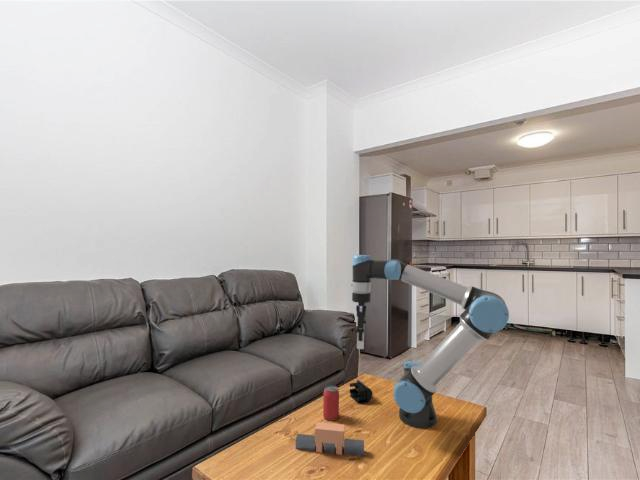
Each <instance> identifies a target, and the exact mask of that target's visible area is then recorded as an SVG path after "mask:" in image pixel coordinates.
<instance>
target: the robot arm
mask: <svg viewBox="0 0 640 480" xmlns="http://www.w3.org/2000/svg"><path fill="white" fill-rule="evenodd" d="M351 267H352V283H350V286H351V287H352V289H351V290H352V293H351V295H352V296H351V301H352V302H354V303H358V304H357V305H356V307H355V309H356V317H357V325H356V327H357V329H355V331H354V332H355V333H356V349H357V350H364V349H365V324H366V323H367V321H366V320H365V317H366V312H367V306H366V305H365V303H367V304H368V303H370V302H371V292H372V291H371V290H372V289H371V288H372V287H371V286H372V282H371V279H373V280H374V279H377V280H378V279H379V280H387V281H388V280H389V281H394V280H397V281H401V282H403V283H407V284H408V285H411V286H414V287H416V288H419V289H421V290H422V291H426V292H428V293H431V294H433V295H435V296H438V297H441V298H443V299H445V300H447V301H450V302H453V303H454V304H457V305H460V306H461V308H462V310H464V311H463V312H462V313H461V314H460V315H459V323H458V324H456V326H455V327H454V328H453V329H452V330H451V331H450V333H448V335H447V336H446V337H445V338H444V339H443V340H442V341H440V343H439V344H438V345H437V346H436V347H435V348H434V349H433V350H432V351H431V352H430V353H429V355H427V357H425V359H424V360H423V361H422V362H421V361H413V360H409V361H405V362H404V363H403V368H402V369H403V373H402V375H401V376H400V378H399V380H398V381H397V383H396V384H395V385H394V388H393V392H392V393H393V398H394V401H395V403H396V405H397V407H399V410H398V417H399V420H400V421H401V422H402V423H404V424H406V425H408V426H410V427H414V428H419V429H429V427H430V428H433V427H435V426H436V424H437V421H438V420H437V419H438V418H437V413H436V409H435V406H434V403H433V396H434V394H436V392H438V391H437V390H438V386H437V385H438V384H439V383H440V382H441V381H442V380H443V378H445V377H446V375H448V374H449V372H451V371H452V370H453V368H454V367H455V366H457V365H458V363H460V361H461V360H463V358H465V356H467V354H468V353H469V352H470V351H471V350H472V349H473V348H475V347H476V346H477V344H478V343H479V342H481V340H483V341H487V340H488V341H489V340H490V338H491V337H492V336H493V335H494V334H495V333H497V332H500V331H502V330H503V329H504V328H505V327H506V326H507V324H508V321H509V318H510V313H509V309H508V306H507V304H506V301H505V300H504V299H503V298H502V296H500V295H499V294H497V293H495V292H491V291H489V290H485V289H481V288H479V287H475V286H473V285H471V286H465V285H462V284H460V283H457V282H455V281H452V280H449V279H446V278H444V277H442V276H438V275H436V274H434V273H432V272H428V271H426V270H423V269H421V268H417V267H415V266H413V265H410V264H407V263H404V262H402V261H401V260H399V259H396V258H395V259H394V258H393V259H387V260H385V259H384V260H378V259H377V260H375V259H372V256H371V255H369V254H367V255H366V254H355V255H353V257H352V266H351ZM432 426H433V427H432Z"/></svg>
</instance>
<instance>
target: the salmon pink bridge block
mask: <svg viewBox="0 0 640 480" xmlns="http://www.w3.org/2000/svg"><path fill="white" fill-rule="evenodd" d="M345 426H346V425H345V424H341V423H331V422H319V421H317V422H316V424H315V426H314V427H315V429H314V435H315V442H316V448H315V452H316V453H323V450H324V443H332V444H336V448H335V454H336V455H340V456H342V455H343V451H344V439H345Z"/></svg>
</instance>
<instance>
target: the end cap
mask: <svg viewBox="0 0 640 480" xmlns="http://www.w3.org/2000/svg"><path fill="white" fill-rule="evenodd" d="M349 387H350V388H351V389H349V396H350V398H352V399H353V401H355V403H356V404H358V405H361V404H366V403H368V402H369V401H371V399H372V398H373V391H372V389H371V388H369V387H368V386H367V385H366V384H364V383H363V382H362V381H361V380H356V382H352V383H351V382H350V383H349ZM352 387H354V388H352Z"/></svg>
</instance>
